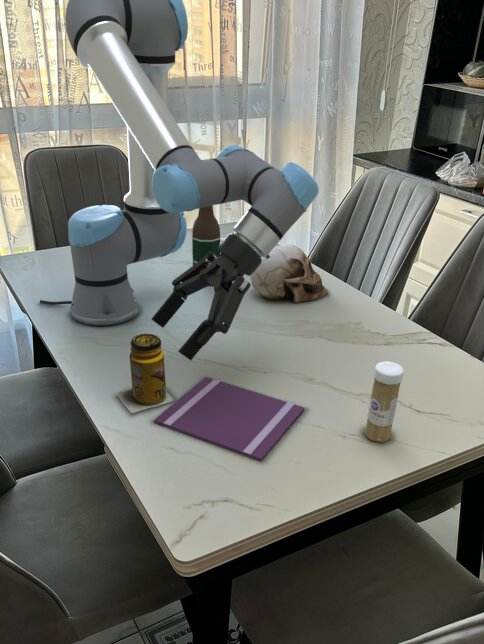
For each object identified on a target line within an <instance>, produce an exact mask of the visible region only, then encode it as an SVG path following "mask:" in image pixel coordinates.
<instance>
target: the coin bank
mask: <svg viewBox="0 0 484 644" xmlns="http://www.w3.org/2000/svg"><path fill="white" fill-rule="evenodd" d="M261 259H262V261H261V262H262V263H261V264H260V265H259V267H258V268H257V269H256V270H255V271H254V273H253V274H252V275H251V276H250V282H251V283H250V284H251V286H252V287H253V289H255V290H256V291H257V292H258V293H259V294H260V296H261V297H263V298H266V299H270V300H280V299H287V298H292V301H293V302H294V303H300V302H310V301H314V300H317V299H318V300H320V299H322V298H323V297H324V296H326V295H327V294H328V289H327V288H326V286H324V285H323V280H322V277H321V275H320V274H319V273H318V272H317V271H315V270H314V267H313V266H312V260H310V258H309V256H307V254H306V253H305V252H304V251H303V249H301V248H300V247H299V246H296V245H294V244H291V243H290V244H281V245H276V246H275V247H274V248H273V249H272V251H271V252H270V253H269V254H268V255H267V257H261Z"/></svg>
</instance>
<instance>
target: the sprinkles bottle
mask: <svg viewBox="0 0 484 644" xmlns="http://www.w3.org/2000/svg"><path fill="white" fill-rule="evenodd" d="M404 372H405V370H404V368H403V366H402V365H400V364H399V363H396V362H393V361H387V360H386V361H380V362H378V363H377V364H375V367H374V372H373V383H372V384H373V385H372V389H371V394H370V401H369V405H368V410H367V418H366V425H365V428H364V435H365V436H366V438H367V439H369V440H371V441H373V442H377V443H379V442H381V443H382V442H386V441H388V440H389V439H390V438H391V436H392V428H393V423H394V419H395V416H396V415H395V414H396V409H397V406H398V405H397V404H398V399H399V393H400V389H401V388H400V387H401V383H402V381H403V379H404Z"/></svg>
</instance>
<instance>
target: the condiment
mask: <svg viewBox="0 0 484 644" xmlns="http://www.w3.org/2000/svg"><path fill="white" fill-rule="evenodd" d="M162 349H163V347H162V340H161V337H159V336H158V335H156V334H153V333H140V334H136V335H135V336H132V339H131V340H130V353H129V367H130V376H131V378H130V379H131V387H132V388H131V389H128V390H124V391H120V392H116V393H115V395H116V396H117V398H118V399H119V401H120V402H121V403H122V404H123V406H124V407H125V408H127V410H128V412H130V413H131V414H135V413H139V412H141V411H145V410H147V409H152V408H156V407H159V406H162V405H165V404H168V403H171V402H175V399H174V398H173V396H172V395H170V393H168V392H167V385H166V371H165V370H166V369H165V353H164V351H163V350H162Z"/></svg>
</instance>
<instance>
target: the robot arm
mask: <svg viewBox="0 0 484 644" xmlns="http://www.w3.org/2000/svg"><path fill="white" fill-rule="evenodd" d="M64 19H65V31H66V35H67V36H66V37H67V40H68V42H69V45H70V47H71V49H72V51H73V53H74V55H75V56H76V58H77V60H79V62H80V64H81V65H82V66H83V67H84V68H86V69H88V70H91V71H92V73H94V76H95V77H96V79H97V80H98V82H99V84H100V85H101V87H102V89H103V90H104V92H105V93H106V95H107V96H108V98H109V99H110V101H111V103H112V105H113V106H114V107H115V109H116V111H117V112H118V114H119V115H120V117H121V119H122V120H123V122H124V124H125V125H126V132H127V134H126V135H127V150H128V151H127V153H128V154H127V155H128V172H129V173H128V174H129V175H128V177H129V192H127V193H126V194H125V195H124V197H123V210H122V209H121V208H120V207H119V206H116V205H111V204H102V205H92V206H88V207H84V208H82V209H80V210H78V211H76V212H74V213H73V214H72V215H71V217H69V220H68V223H67V227H68V242H69V246H70V253H71V254H70V255H71V260H72V261H71V262H72V268H73V275H74V281H75V282H74V283H75V284H74V288H73V293H72V300H61V301H50V300H42V299H40V300H39V304H44V305H50V306H51V305H52V306H58V305H59V306H60V305H70V313H71V317H72V318H73V319H74V320H75V321H76V322H78V323H79V324H84V325H87V326H95V327H105V326H106V327H107V326H115V325H119V324H123V323H125V322H128V321H131V320H132V319H134V318H135V317H136V316H137V315H138V313H139V302H138V299H137V298H136V296H135V294H134V293H135V291H134V289H133V287H132V286H131V283H130V281H129V276H128V265H131V264H135V263H139V262H144V261H148V260H152V259H156V258H163V257H167V256H168V255H170V254H174V253H175V252H177V251H179V250H180V249H181V248H182V246H183V244H184V243H185V240H186V237H187V236H186V235H187V225H188V224H187V219H186V217H184V215H185V213H184V212H192V211H196V210H199V208H203V207H207V206H212V205H213V206H218V205H223V204H227V203H228V204H229V203H232V202H238V201H244V202H245V203H247V204H248V205H250V207H249V209H248V210H247V211H246V212H245V213H244V215H243V216H242V217H241V218H240V219H239V220H238V222H237V223H236V224H235V226H234V227H233V228H232V229H233V233H232V232H231V233H228V234H227V236H226V237H225V238H224V240H223V242H222V243H221V244H220V245H219V247H218V250H219V251H220V256H218V257H216V256H215V255H214V254H213V253H212V252H208V253H207V254H206V255H205V256H204V257H203V259H202V260H200V261H199V262H198V263H196V264H195V265H194V266H193V265H192V266H191V267H189V268H188V269H186V270H185V271H184V272H182V273H181V274H180V275H179V276H177V277H175V278H174V279H173V280H172V282H171V286H173V288H172V293H171V294H170V295H169V296H168V297H167V299H166V300H165V301H164V302H163V304H162V305H161V306H160V307H159V309H158V310H157V311H156V313H154V315H153V316H152V318H151V321H153V322H154V323H155V324H156V325H158V326H159V327H161V328H162V329H163V328H164V327H165V326H166V325H167V324H168V323H169V321H170V320H171V319H172V318H173V317H174V315H175V314H176V313H177V312H178V311H179V310H180V308H181V307H182V306H183V305H184V303H185V302H186V301H187V300H188V296H191V295H193V294H195V293H197V292H200V291H202V290H203V289H205V288H208V287H213V292H214V294H213V298H212V302H211V305H210V309H209V313H208V315H207V319H204V320H203V321H202V322H201V323H200V324H199V325H198V326H197V328H196V329H195V330H194V331H193V333H191V335H190V336H189V337H188V339H187V340H186V341H185V342H184V343H183V344H182V345H181V346H180V348H179V349H178V353H179V354H180V355H181V356H183V357H185V358H186V359H187V360H189V361H192V360H193V359H194V358H195V356H196V355H197V354H198V352H199V351H200V350H201V349H202V348H203V347H204V346H206V345H207V343H208V342H209V341H210V340H211V339H212V338H213V336H215V334H216V333H221V334H224V335H226V334H227V333H228V332H229V330H230V328H231V326H232V323H233V322H234V319H235V316H236V314H237V312H238V310H239V307H240V305H241V303H242V301H243V298H244V297H245V295H246V293H247V292H248V291H249V289H250V288H251V286H252V283H250V282H249V281H248V280H247V279H246V278H245V277H244V276H245V275H246V276H248V277H251V275H252V274H253V273H254V271H255V270H256V269H257V268H258V267H259V265H260V264H261V263H262V262H261V261H262V259H261V257H267V255H268V254H269V253H270V252H271V251H272V249H273V248H274V247H275V246H277V244H278V243H279V242H280V241H281V240H282V239H283V238H284V236H285V235H286V233H287V232H288V231H289V230H290V229H291V228H292V227H293V226H294V225H295V224H296V222H297V221H299V219H300V218H301V217H302V216H303V215H304V213H306V212H307V210H308V208H309V207H310V205H311V204H312V203H313V202H314V200H315V199H316V198H317V196H318V194H319V191H320V190H319V186H318V183H317V181H316V180H315V179H314V177H313V176H312V175H311V174H310V173H309V172H308V171H307V170H306V169H304V167H302V166H301V165H299V164H298V163H296V162H291V161H290V162H287V163H286V164H285V165H284V166H283V167H281V169H278V168H276V167H274V166H273V165H271V164H270V163H268V162H267V161H266V160H265V159H263V158H261V157H259V156H258V155H257V154H256V153H254V152H253V151H251V150H249V149H247V148H245V147H243V146H241V145H239V144H231V145H228V146H227V147H226V148H224V149H223V150H220V152H219V153H218V155H217V156H216V157H214V158H207V159H206V158H205V159H201V158H200V156H199V155H198V153H197V151H195V149H194V147H193V146H192V145H191V143H190V142H189V140H188V139H187V136H186V135H185V134H184V132H183V130H182V129H181V127H180V126H179V125H178V123H177V121H176V120H175V118H174V117H173V115H172V113H171V112H170V110H169V72H170V70H171V69H172V68H173V67H174V66H175V65H176V52H178V51H180V50H181V49H182V48H183V47H184V45H185V43H186V41H187V38H188V33H189V20H188V14H187V11H186V7H185V4H184V2H183V0H68V1H67V4H66V9H65V16H64Z"/></svg>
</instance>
